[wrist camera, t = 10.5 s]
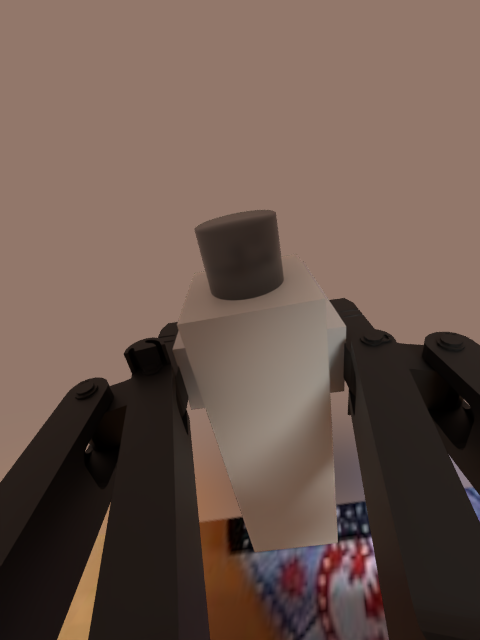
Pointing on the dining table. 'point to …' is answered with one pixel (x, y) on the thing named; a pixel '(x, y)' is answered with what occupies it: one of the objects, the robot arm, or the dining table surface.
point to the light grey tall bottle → (264, 378)
